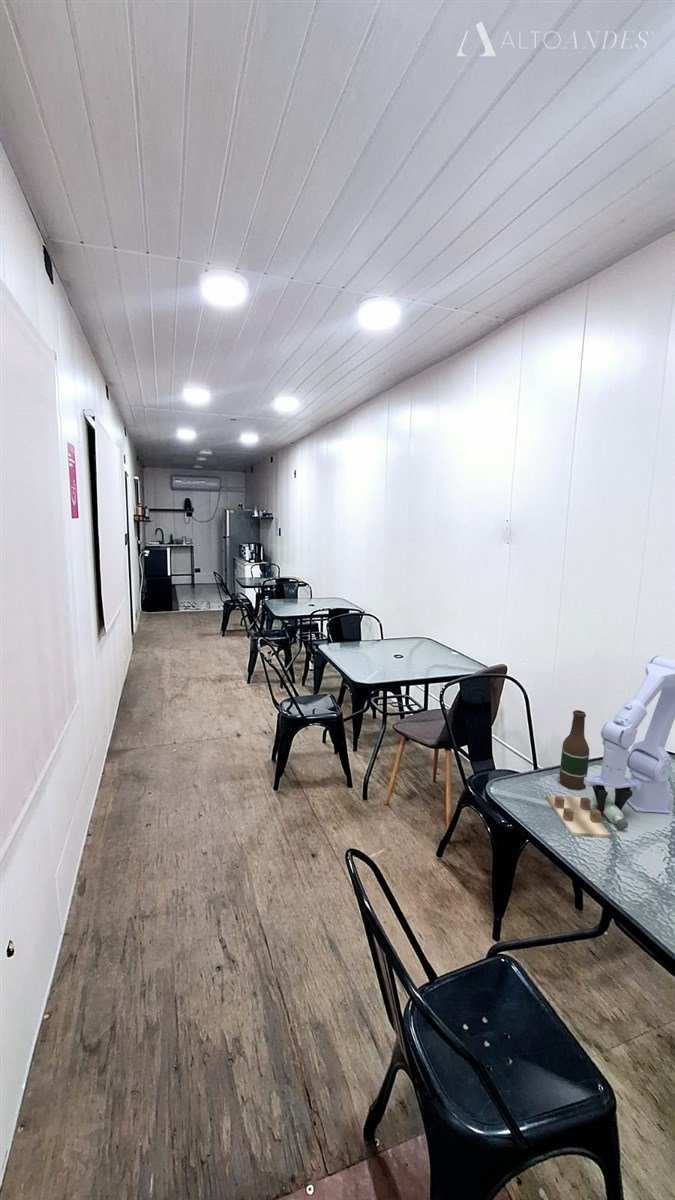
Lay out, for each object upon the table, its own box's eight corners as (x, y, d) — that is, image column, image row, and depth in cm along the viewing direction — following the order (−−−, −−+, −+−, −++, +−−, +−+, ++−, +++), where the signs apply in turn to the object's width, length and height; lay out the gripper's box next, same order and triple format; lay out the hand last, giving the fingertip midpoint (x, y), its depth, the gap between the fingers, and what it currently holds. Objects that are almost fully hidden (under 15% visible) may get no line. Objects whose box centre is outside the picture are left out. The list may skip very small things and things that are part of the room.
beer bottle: (562, 775, 157) (569, 705, 153) (588, 783, 152) (596, 711, 148) (555, 784, 151) (562, 711, 147) (582, 793, 146) (590, 718, 142)
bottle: (606, 805, 140) (608, 792, 139) (630, 832, 127) (631, 818, 127) (592, 804, 140) (594, 792, 139) (614, 831, 127) (616, 817, 127)
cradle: (580, 799, 142) (581, 788, 142) (610, 837, 125) (612, 824, 124) (545, 797, 143) (546, 786, 142) (571, 835, 125) (573, 822, 125)
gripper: (633, 759, 136) (627, 804, 138) (580, 757, 137) (576, 801, 139) (647, 772, 129) (641, 818, 131) (592, 769, 130) (587, 815, 132)
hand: (608, 810), depth 135 cm, fingers closed on bottle, 4 cm apart
